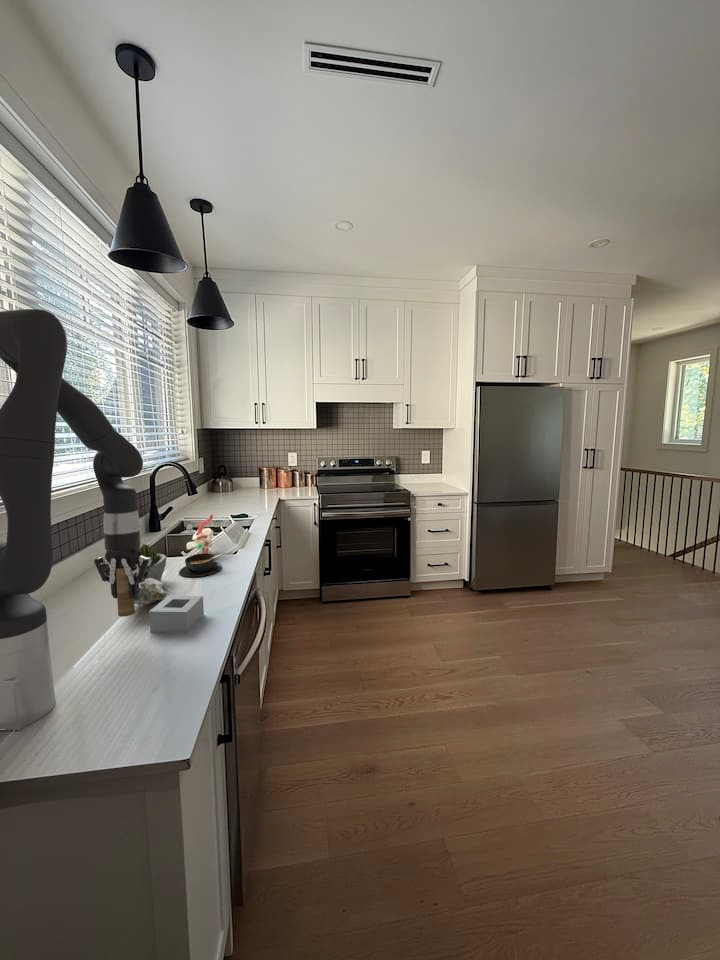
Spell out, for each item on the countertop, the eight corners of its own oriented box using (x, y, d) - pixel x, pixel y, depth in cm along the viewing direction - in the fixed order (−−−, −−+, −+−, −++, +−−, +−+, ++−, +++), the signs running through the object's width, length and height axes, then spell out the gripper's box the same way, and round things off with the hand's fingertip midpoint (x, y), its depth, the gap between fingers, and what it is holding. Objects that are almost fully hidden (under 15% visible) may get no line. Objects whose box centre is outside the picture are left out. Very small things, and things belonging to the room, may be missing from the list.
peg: (129, 616, 96) (126, 569, 95) (114, 616, 97) (112, 569, 95) (137, 610, 100) (135, 564, 99) (124, 610, 100) (121, 564, 99)
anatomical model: (187, 553, 170) (185, 513, 168) (213, 550, 174) (211, 511, 172) (187, 564, 156) (184, 520, 154) (215, 561, 161) (213, 518, 158)
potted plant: (123, 584, 136) (119, 542, 134) (163, 576, 144) (161, 536, 142) (127, 596, 127) (124, 551, 125) (170, 586, 134) (168, 544, 132)
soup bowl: (204, 562, 159) (204, 544, 158) (231, 570, 151) (230, 551, 150) (170, 574, 147) (169, 554, 146) (197, 582, 138) (196, 562, 138)
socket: (187, 633, 103) (186, 612, 103) (150, 633, 104) (148, 611, 103) (203, 615, 113) (202, 596, 112) (169, 615, 113) (168, 595, 113)
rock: (159, 617, 112) (157, 584, 111) (117, 622, 109) (115, 588, 108) (172, 591, 130) (170, 562, 129) (136, 595, 127) (134, 565, 126)
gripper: (82, 532, 93) (87, 603, 94) (141, 533, 92) (145, 604, 94) (104, 525, 100) (108, 591, 102) (158, 526, 100) (161, 592, 101)
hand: (125, 597), depth 98 cm, fingers closed on peg, 3 cm apart
